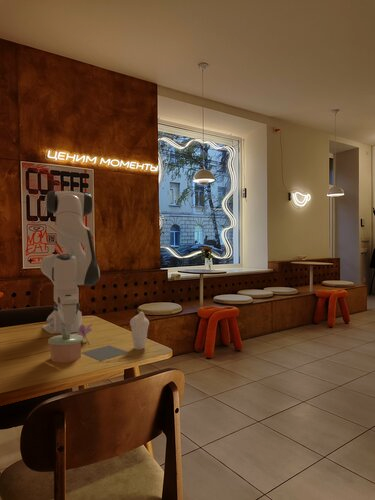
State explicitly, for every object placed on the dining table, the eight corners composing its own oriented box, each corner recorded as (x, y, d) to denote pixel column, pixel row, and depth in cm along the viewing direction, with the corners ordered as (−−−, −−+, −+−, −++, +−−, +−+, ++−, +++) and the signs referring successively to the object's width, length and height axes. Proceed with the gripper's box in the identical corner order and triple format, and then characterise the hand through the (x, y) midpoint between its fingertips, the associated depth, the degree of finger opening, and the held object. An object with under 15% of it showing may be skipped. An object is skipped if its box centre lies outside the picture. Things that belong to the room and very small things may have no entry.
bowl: (45, 358, 139) (45, 340, 139) (71, 352, 148) (71, 335, 147) (59, 365, 132) (59, 346, 132) (86, 358, 140) (86, 340, 140)
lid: (42, 340, 139) (42, 328, 139) (72, 334, 149) (72, 322, 149) (58, 347, 130) (58, 334, 130) (89, 340, 140) (89, 328, 140)
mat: (80, 353, 146) (80, 352, 146) (109, 346, 156) (109, 345, 156) (100, 361, 136) (100, 360, 136) (129, 353, 146) (129, 352, 146)
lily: (96, 341, 166) (87, 323, 167) (103, 337, 156) (94, 318, 158) (72, 354, 159) (63, 335, 160) (78, 351, 150) (68, 330, 151)
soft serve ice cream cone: (130, 352, 148) (130, 313, 147) (128, 346, 156) (128, 310, 155) (150, 350, 150) (150, 312, 150) (147, 344, 158) (147, 309, 158)
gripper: (53, 293, 147) (54, 326, 147) (61, 300, 129) (61, 338, 129) (69, 292, 150) (69, 324, 150) (78, 299, 132) (79, 336, 132)
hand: (65, 331), depth 139 cm, fingers open, 8 cm apart
